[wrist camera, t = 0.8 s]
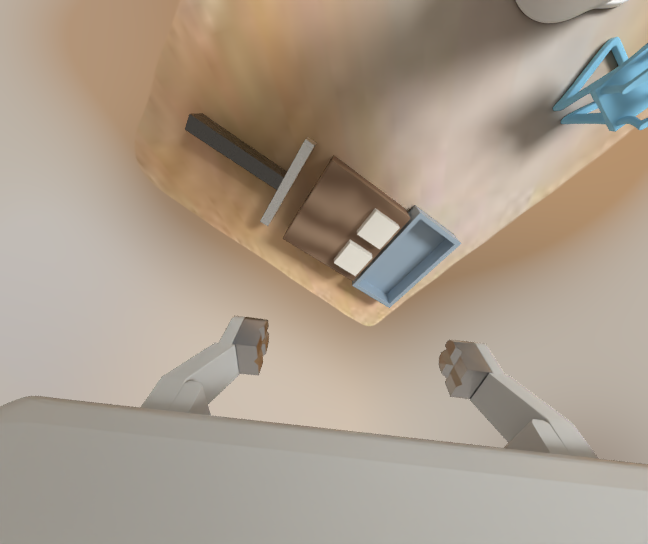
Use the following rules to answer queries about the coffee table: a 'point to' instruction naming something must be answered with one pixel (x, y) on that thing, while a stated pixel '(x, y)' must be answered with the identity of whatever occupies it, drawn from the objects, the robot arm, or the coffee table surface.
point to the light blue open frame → (611, 90)
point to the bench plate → (340, 215)
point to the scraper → (251, 158)
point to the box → (406, 258)
